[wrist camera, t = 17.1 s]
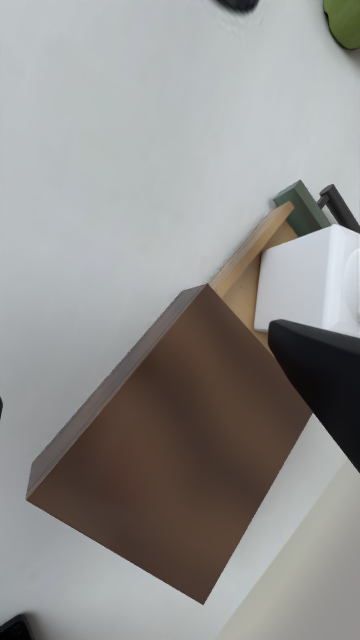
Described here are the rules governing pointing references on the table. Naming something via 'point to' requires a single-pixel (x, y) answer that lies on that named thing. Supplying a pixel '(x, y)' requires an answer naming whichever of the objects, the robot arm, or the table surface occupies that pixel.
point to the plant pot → (344, 21)
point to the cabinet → (175, 445)
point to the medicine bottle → (312, 282)
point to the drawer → (244, 267)
